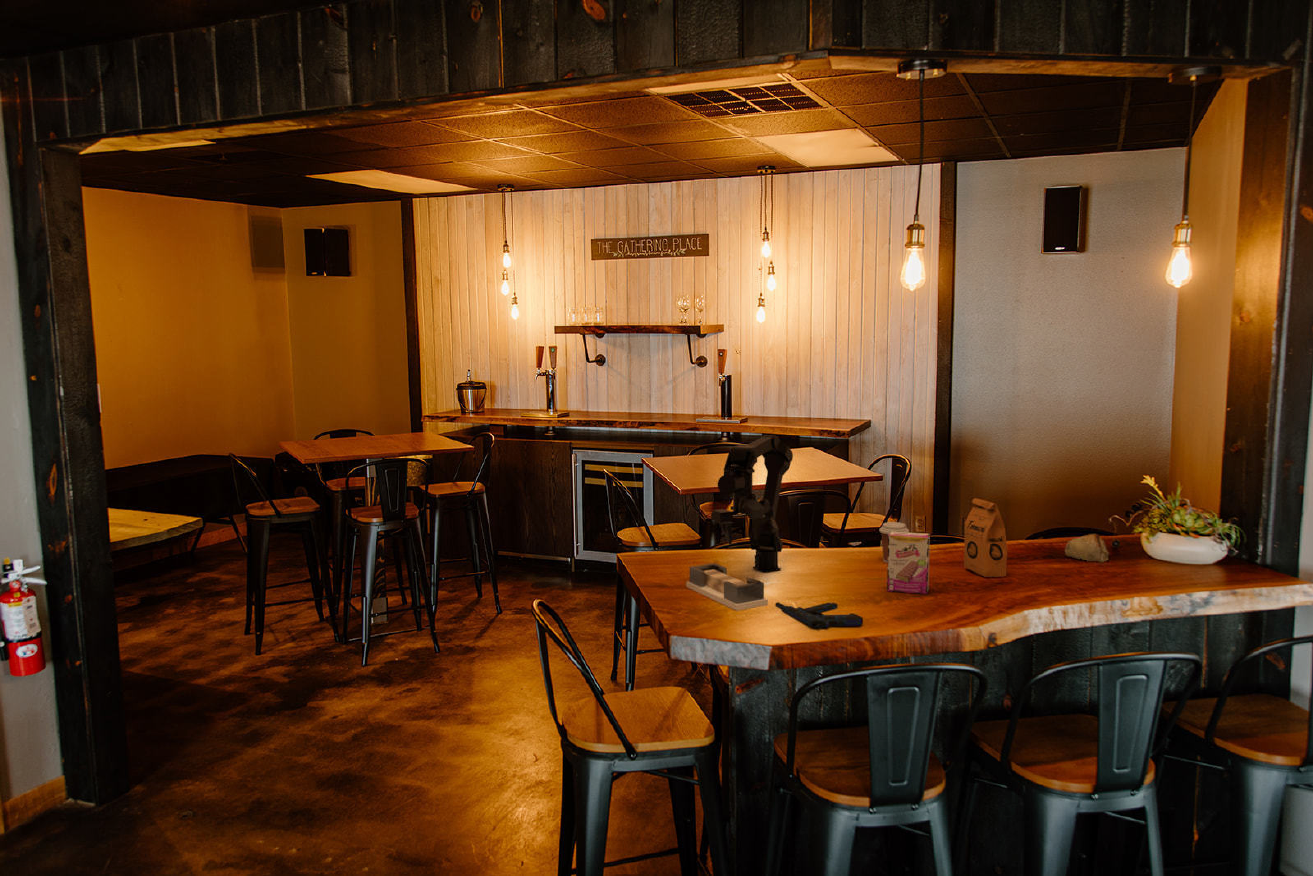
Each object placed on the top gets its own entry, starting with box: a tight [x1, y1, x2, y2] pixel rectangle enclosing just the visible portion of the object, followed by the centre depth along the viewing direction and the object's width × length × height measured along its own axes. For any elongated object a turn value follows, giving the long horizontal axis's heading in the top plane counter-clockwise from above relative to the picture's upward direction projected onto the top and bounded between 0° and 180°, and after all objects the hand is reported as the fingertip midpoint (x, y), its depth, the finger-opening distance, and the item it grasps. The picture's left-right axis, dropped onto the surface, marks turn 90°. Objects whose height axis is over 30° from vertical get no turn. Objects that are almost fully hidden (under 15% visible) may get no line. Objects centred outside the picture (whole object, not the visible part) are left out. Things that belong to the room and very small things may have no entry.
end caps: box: [689, 562, 765, 604], centre depth 244 cm, size 25×9×4 cm, turn 28°
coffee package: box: [963, 497, 1008, 578], centre depth 262 cm, size 10×12×22 cm
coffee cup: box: [878, 521, 910, 564], centre depth 278 cm, size 9×9×12 cm
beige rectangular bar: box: [705, 569, 748, 594], centre depth 244 cm, size 20×4×4 cm, turn 28°
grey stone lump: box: [1064, 533, 1110, 563], centre depth 279 cm, size 14×12×8 cm
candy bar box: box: [886, 531, 931, 595], centre depth 245 cm, size 11×5×16 cm, turn 71°
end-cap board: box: [685, 580, 769, 612], centre depth 245 cm, size 26×10×2 cm, turn 28°
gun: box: [775, 602, 864, 630], centre depth 226 cm, size 24×3×15 cm
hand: (743, 542), depth 257 cm, fingers open, 9 cm apart
